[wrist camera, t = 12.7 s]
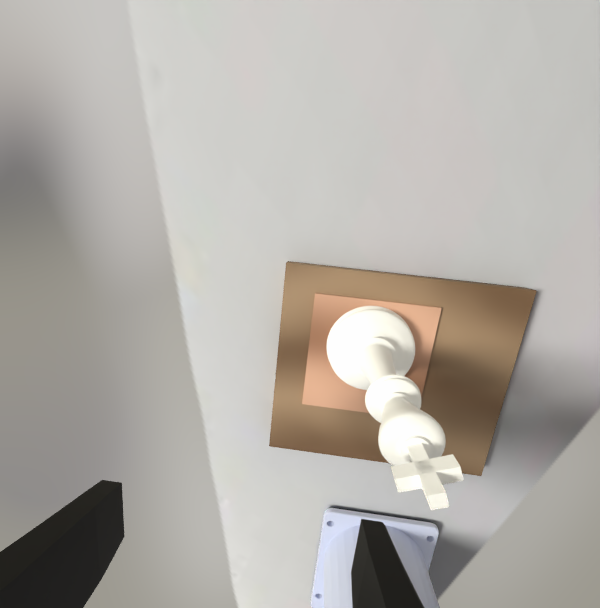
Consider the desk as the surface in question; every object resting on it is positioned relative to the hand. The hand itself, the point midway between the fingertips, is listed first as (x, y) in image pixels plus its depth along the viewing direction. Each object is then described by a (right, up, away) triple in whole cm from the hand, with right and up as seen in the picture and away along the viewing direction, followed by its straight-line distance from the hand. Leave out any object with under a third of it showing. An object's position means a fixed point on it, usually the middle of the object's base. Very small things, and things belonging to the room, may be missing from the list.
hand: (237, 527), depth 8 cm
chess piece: (+6, +4, +8) cm, 11 cm away
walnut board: (+7, +3, +10) cm, 12 cm away
